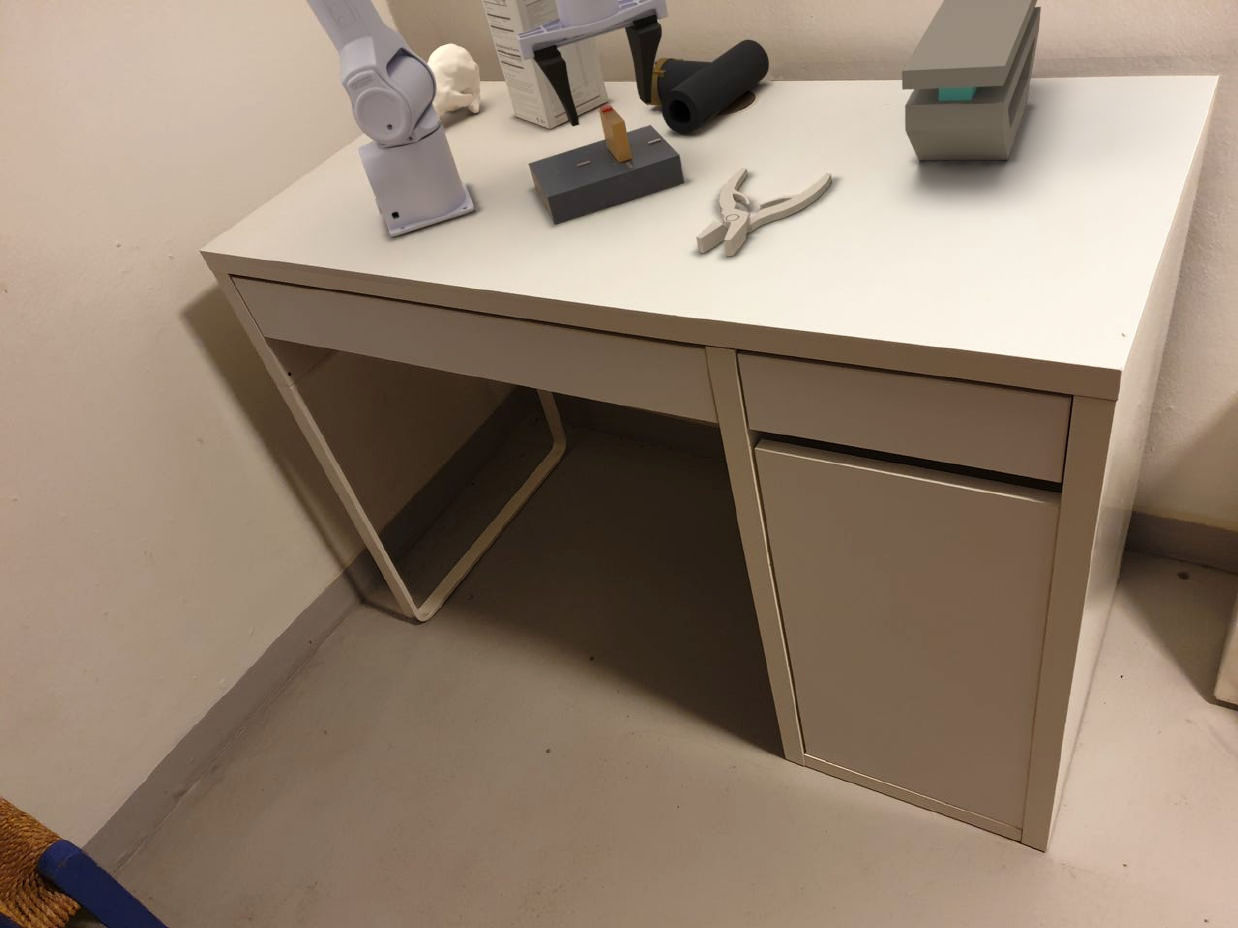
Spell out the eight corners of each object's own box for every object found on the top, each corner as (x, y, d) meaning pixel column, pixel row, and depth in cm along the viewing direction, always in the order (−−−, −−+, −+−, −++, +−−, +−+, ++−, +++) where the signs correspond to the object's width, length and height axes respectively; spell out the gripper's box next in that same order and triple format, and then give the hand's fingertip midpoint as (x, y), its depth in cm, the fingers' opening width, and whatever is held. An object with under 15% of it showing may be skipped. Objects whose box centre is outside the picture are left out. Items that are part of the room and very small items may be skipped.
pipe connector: (612, 84, 103) (686, 35, 111) (621, 129, 107) (691, 79, 114) (694, 90, 97) (767, 39, 105) (701, 138, 100) (770, 85, 108)
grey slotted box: (955, 84, 97) (959, -27, 90) (1035, 81, 93) (1045, -34, 86) (902, 194, 81) (902, 71, 74) (995, 195, 78) (1004, 66, 71)
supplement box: (572, 90, 121) (539, -49, 110) (611, 101, 115) (580, -44, 104) (512, 117, 118) (472, -23, 107) (549, 130, 111) (510, -17, 101)
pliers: (833, 165, 85) (763, 244, 76) (834, 180, 86) (765, 260, 77) (739, 159, 90) (664, 233, 81) (741, 174, 91) (667, 249, 82)
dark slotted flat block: (554, 224, 91) (546, 195, 89) (535, 189, 99) (527, 162, 97) (684, 183, 92) (679, 153, 90) (655, 151, 100) (650, 123, 98)
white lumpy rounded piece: (472, 38, 118) (410, 83, 112) (496, 100, 123) (437, 146, 118) (440, 37, 121) (378, 81, 116) (464, 98, 127) (406, 142, 121)
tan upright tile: (632, 159, 92) (623, 118, 89) (619, 163, 92) (610, 122, 89) (619, 143, 96) (610, 103, 93) (606, 147, 96) (598, 107, 93)
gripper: (641, -65, 86) (665, 80, 95) (496, -22, 85) (533, 120, 93) (664, -53, 80) (687, 99, 89) (509, -7, 79) (547, 142, 88)
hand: (610, 111), depth 91 cm, fingers open, 7 cm apart
